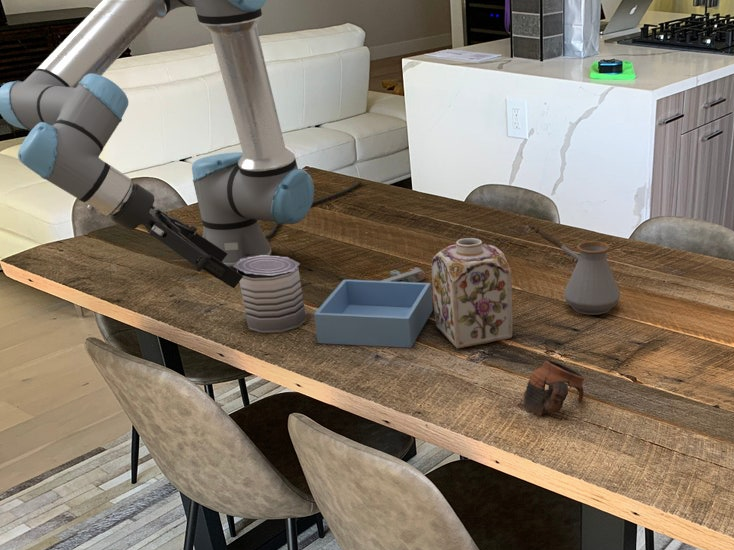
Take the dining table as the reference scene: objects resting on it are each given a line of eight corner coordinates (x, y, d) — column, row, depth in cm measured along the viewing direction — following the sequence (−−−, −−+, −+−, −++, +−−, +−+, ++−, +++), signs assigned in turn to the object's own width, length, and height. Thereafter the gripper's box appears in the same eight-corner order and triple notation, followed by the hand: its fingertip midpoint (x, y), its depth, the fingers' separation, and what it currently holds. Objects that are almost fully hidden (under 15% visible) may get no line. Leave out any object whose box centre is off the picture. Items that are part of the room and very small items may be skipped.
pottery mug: (513, 397, 144) (533, 352, 143) (564, 417, 147) (584, 373, 146) (525, 415, 133) (547, 366, 132) (580, 436, 136) (602, 389, 135)
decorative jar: (455, 350, 158) (449, 255, 149) (433, 327, 167) (427, 236, 158) (515, 338, 163) (513, 245, 154) (491, 316, 172) (487, 227, 163)
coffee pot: (629, 304, 178) (633, 232, 171) (602, 323, 170) (605, 249, 162) (541, 283, 188) (541, 215, 180) (512, 301, 179) (510, 230, 171)
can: (252, 310, 173) (241, 252, 167) (311, 308, 174) (302, 251, 168) (240, 334, 163) (228, 273, 157) (302, 332, 165) (292, 272, 158)
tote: (347, 306, 176) (343, 279, 173) (432, 310, 174) (430, 283, 172) (317, 343, 161) (313, 314, 158) (411, 347, 159) (408, 318, 156)
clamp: (407, 263, 191) (436, 274, 185) (408, 272, 192) (437, 284, 187) (349, 280, 182) (378, 293, 176) (351, 290, 183) (379, 303, 177)
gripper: (100, 198, 155) (205, 265, 169) (115, 238, 137) (232, 309, 151) (125, 165, 155) (228, 235, 169) (144, 200, 136) (258, 275, 151)
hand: (230, 270), depth 160 cm, fingers open, 13 cm apart
